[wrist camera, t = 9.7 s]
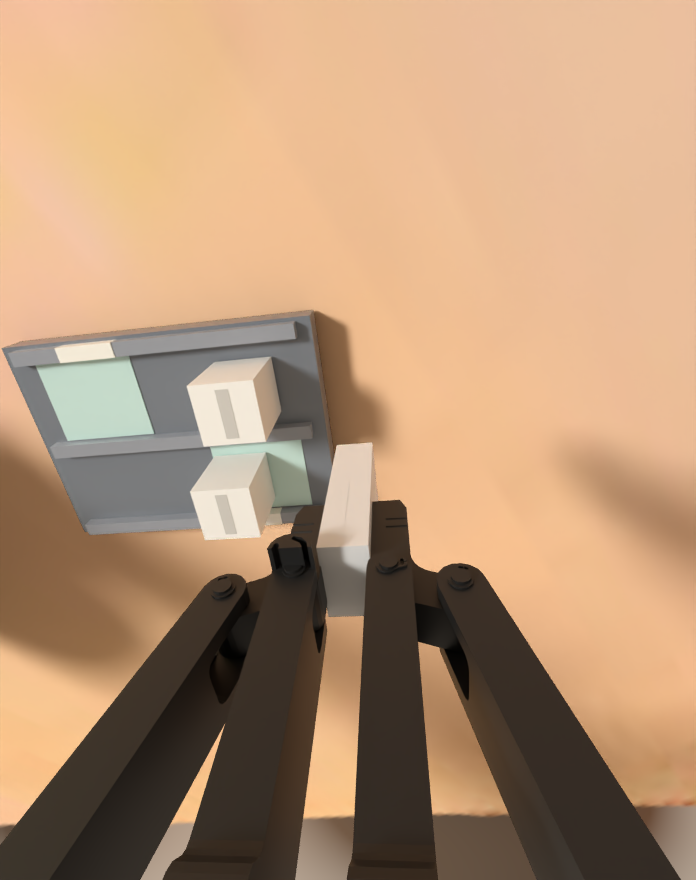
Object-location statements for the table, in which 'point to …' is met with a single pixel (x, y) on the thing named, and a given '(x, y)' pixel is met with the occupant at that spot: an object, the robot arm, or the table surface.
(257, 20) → the table surface
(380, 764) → the robot arm
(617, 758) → the table surface
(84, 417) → the switch board
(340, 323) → the table surface
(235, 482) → the tab
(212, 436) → the tab
